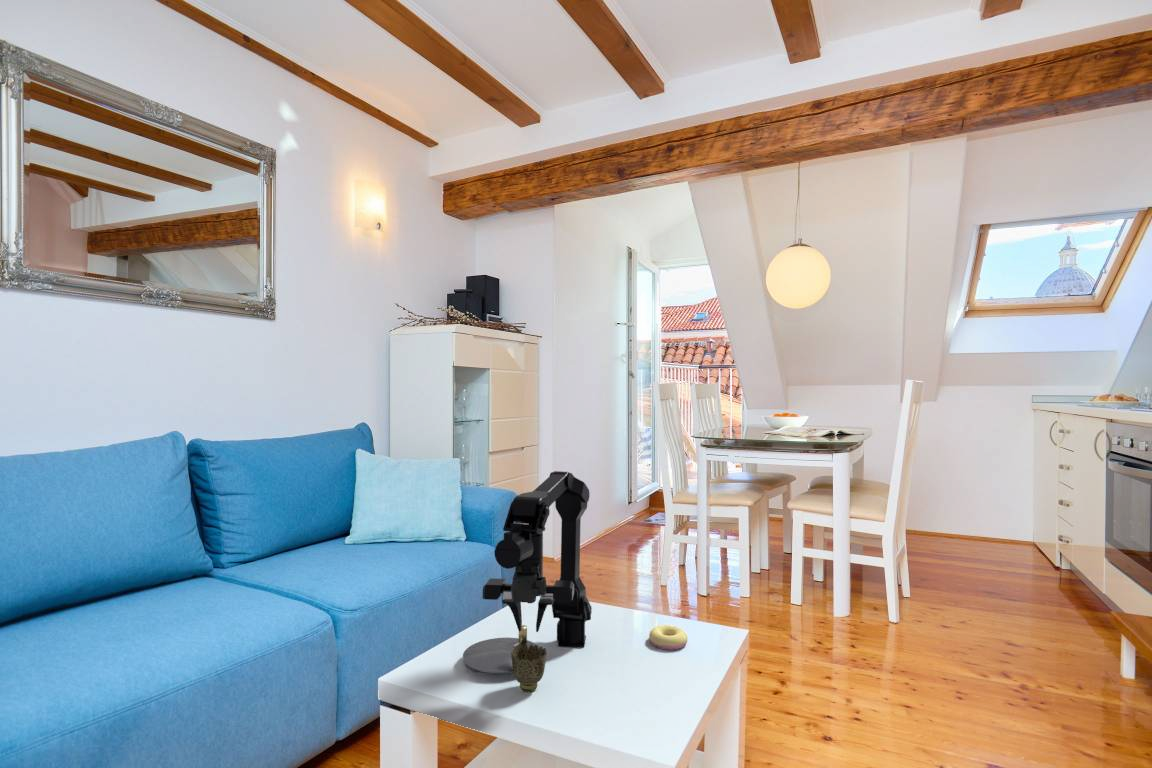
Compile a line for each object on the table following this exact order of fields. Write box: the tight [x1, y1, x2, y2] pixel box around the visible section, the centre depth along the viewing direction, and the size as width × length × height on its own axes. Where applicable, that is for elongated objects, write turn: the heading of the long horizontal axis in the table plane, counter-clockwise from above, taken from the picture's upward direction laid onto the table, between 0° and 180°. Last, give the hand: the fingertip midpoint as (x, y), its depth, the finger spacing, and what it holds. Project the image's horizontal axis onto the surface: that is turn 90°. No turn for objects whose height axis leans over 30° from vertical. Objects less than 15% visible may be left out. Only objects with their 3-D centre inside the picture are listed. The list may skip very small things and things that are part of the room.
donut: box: [648, 624, 688, 650], centre depth 150 cm, size 10×5×9 cm
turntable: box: [462, 624, 541, 676], centre depth 138 cm, size 18×18×4 cm
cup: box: [511, 644, 547, 693], centre depth 126 cm, size 8×7×8 cm
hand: (528, 631), depth 126 cm, fingers open, 3 cm apart
